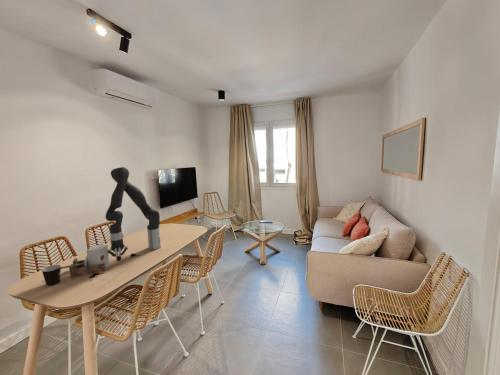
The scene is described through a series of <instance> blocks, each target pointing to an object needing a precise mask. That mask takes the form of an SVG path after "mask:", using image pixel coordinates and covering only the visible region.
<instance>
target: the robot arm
mask: <svg viewBox="0 0 500 375" xmlns="http://www.w3.org/2000/svg"><path fill="white" fill-rule="evenodd" d="M110 176H111V177H112V180H114V182H116V186H115V188H114V190H113V192H112V194H111V196H110V197H111V198H110V204H109V207H108V208H107V211H106V213H105V219H106V221H108V222H115V223H111V224H110V225H109V233H110V236H109V239H110V249H108V255H110V256H112V257H116V262H121V260H122V256H123V255H125V253H126V251H127V250H128V246H125V244H124V238H123V237H124V236H123V232H122V231H123V230H122V223H123V218H124V214H123V212H122V211H120V210H117V209H120V208H121V207H122V205H123V204H122V203H123V199H124V198H123V197H124V193H125V194H126V195H128V197H129V198H130V200H131V201H132V202H133V203H134V204H135V206H137V207H138V209H139V210H140V211H141V213H142V214H143V216H144V218H145V219H146V220H148V224H147V225H146V230H147V243H148V246H147V247H148V250H150V251H151V250H152V251H153V250H157V249H160V248H161V247H162V245H161V236H160V224H161V222H160V220H161V219H160V218H161V217H160V216H161V215H160V212H159V211H158V210H157V209H153V208H152V207H151V206H150V205H149V203H148V202H147V198H146V197H145V195H144V193H143V192H142V190H141V189H140V188H138V187H137V186H135V184H132V183H131V182H130V181H128V179H129V176H130V171H129V169H128V168H127V167H124V166H121V167H117V168H113V169H111V171H110Z"/></svg>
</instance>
